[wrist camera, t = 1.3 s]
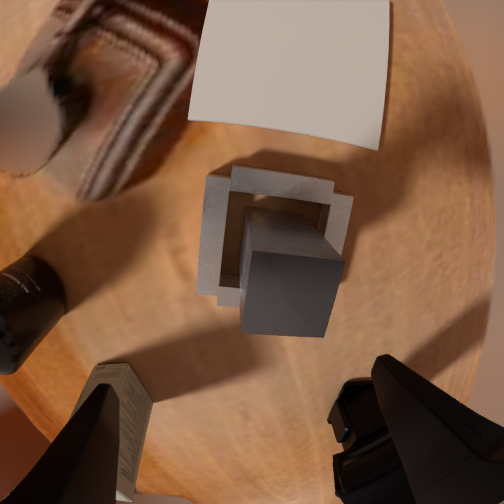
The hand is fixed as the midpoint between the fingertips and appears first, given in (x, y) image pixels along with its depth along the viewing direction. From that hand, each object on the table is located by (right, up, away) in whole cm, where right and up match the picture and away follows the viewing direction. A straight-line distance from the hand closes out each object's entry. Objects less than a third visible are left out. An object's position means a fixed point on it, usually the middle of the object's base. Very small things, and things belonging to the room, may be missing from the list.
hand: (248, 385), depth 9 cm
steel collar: (+1, +5, +12) cm, 14 cm away
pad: (+3, +18, +8) cm, 20 cm away
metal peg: (+1, +5, +13) cm, 14 cm away
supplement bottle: (-19, +1, +13) cm, 23 cm away
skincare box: (-13, -9, +17) cm, 23 cm away
